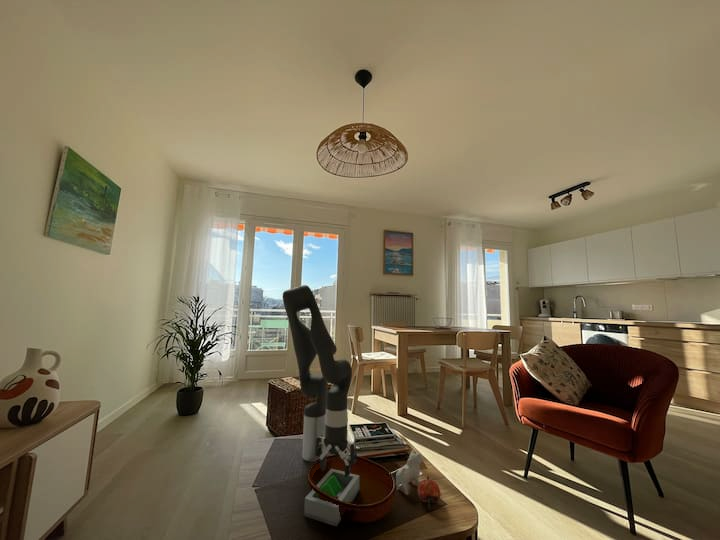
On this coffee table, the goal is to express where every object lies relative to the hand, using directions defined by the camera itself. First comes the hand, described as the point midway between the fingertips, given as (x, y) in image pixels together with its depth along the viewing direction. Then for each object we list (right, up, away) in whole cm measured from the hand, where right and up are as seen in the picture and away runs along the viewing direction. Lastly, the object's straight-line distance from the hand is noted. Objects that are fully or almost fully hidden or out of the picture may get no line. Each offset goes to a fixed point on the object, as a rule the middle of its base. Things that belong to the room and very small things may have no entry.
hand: (335, 472), depth 98 cm
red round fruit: (+31, -10, -1) cm, 32 cm away
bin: (0, -9, -1) cm, 9 cm away
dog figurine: (+26, -11, +9) cm, 29 cm away
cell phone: (+24, -12, +14) cm, 30 cm away
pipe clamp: (0, -7, -1) cm, 7 cm away
